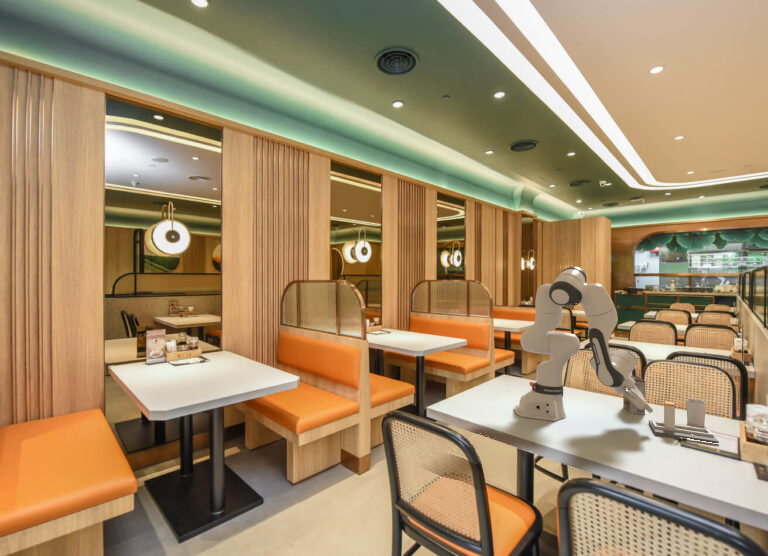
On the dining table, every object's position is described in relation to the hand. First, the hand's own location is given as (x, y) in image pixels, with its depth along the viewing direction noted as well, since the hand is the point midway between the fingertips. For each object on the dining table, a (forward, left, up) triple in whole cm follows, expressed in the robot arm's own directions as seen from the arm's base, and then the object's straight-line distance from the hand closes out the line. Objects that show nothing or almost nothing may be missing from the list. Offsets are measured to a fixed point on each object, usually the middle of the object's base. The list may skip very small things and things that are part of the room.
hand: (651, 411), depth 156 cm
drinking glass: (+24, +12, -8) cm, 28 cm away
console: (+11, -1, -8) cm, 14 cm away
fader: (+7, 0, -7) cm, 10 cm away
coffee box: (+5, +25, -8) cm, 27 cm away
